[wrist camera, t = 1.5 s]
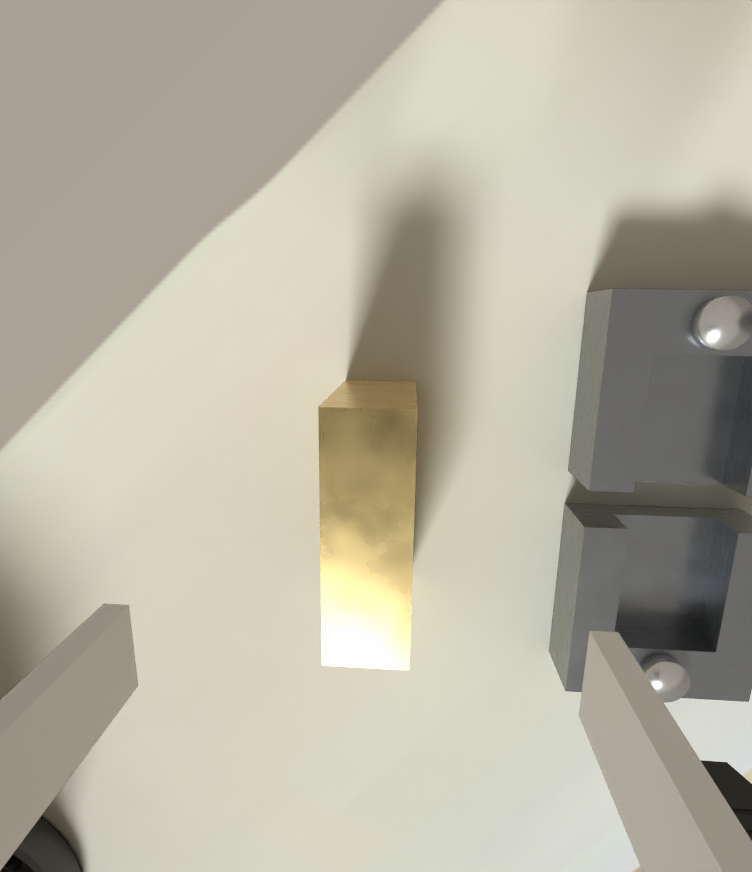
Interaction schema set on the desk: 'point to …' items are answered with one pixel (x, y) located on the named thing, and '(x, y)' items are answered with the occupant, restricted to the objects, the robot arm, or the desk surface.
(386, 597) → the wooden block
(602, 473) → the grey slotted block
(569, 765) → the desk surface
